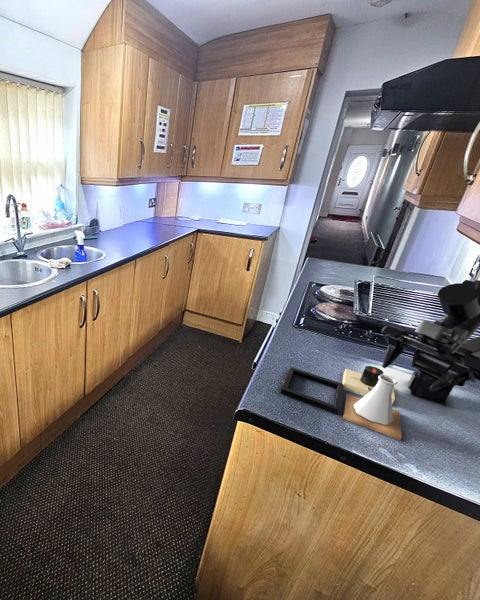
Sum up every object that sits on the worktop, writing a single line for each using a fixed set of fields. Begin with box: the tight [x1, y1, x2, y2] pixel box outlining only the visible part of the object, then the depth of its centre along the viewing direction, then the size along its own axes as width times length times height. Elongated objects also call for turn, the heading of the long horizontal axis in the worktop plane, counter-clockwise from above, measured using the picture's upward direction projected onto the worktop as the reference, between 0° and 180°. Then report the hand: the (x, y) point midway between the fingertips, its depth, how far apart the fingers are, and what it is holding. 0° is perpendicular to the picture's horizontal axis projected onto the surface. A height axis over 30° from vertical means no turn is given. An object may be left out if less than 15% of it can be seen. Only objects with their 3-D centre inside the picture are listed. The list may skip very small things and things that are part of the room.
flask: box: [353, 373, 399, 425], centre depth 74 cm, size 7×7×10 cm
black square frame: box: [280, 366, 344, 415], centre depth 85 cm, size 12×12×2 cm
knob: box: [360, 365, 384, 387], centre depth 84 cm, size 4×4×4 cm
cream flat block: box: [341, 368, 396, 405], centre depth 85 cm, size 10×8×2 cm
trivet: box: [342, 393, 403, 441], centre depth 76 cm, size 10×10×1 cm
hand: (405, 378), depth 76 cm, fingers open, 9 cm apart
